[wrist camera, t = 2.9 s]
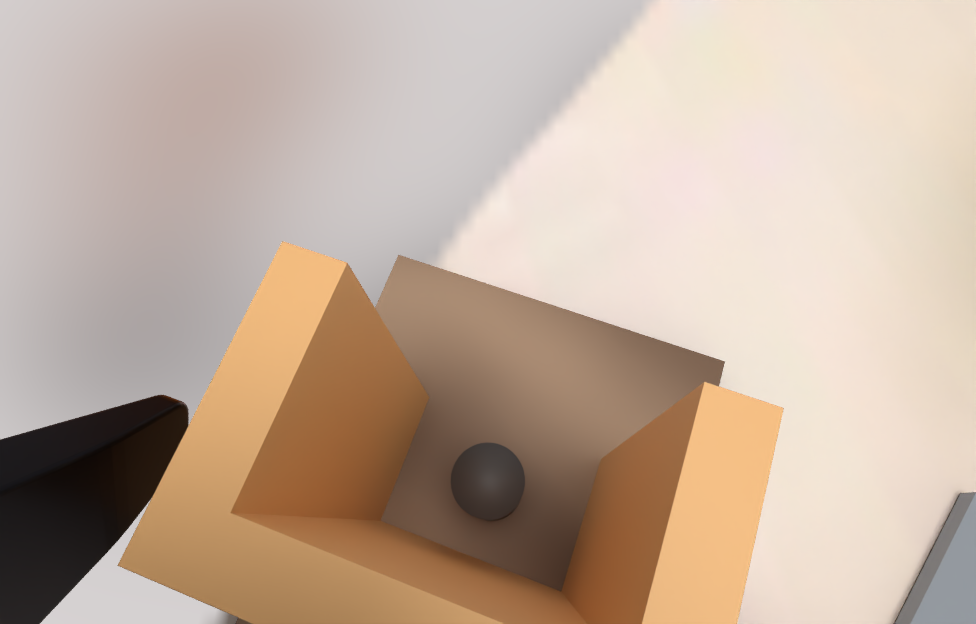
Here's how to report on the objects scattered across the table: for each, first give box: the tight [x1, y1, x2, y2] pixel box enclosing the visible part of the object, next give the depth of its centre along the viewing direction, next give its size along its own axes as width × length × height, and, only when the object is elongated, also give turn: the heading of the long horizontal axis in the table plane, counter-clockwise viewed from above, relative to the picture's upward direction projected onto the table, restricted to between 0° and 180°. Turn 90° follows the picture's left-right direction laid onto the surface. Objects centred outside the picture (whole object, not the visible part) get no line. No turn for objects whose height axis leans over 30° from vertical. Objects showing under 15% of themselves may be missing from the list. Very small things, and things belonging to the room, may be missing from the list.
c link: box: [118, 242, 784, 624], centre depth 12 cm, size 4×7×10 cm, turn 70°
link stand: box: [236, 255, 725, 624], centre depth 15 cm, size 12×10×4 cm
